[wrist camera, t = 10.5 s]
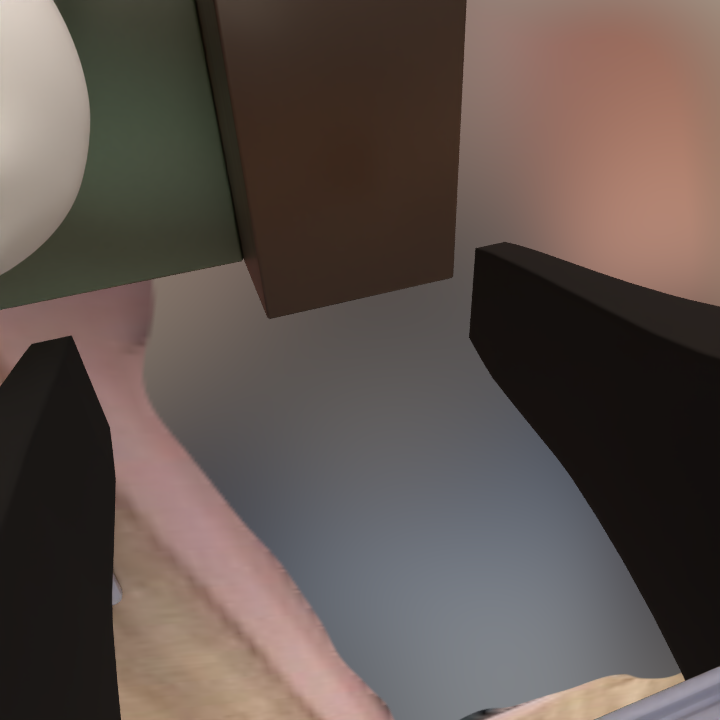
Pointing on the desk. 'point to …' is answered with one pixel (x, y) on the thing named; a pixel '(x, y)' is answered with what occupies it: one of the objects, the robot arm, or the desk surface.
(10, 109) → the milkshake
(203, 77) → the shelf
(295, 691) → the desk surface
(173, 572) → the desk surface
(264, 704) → the desk surface
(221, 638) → the desk surface
